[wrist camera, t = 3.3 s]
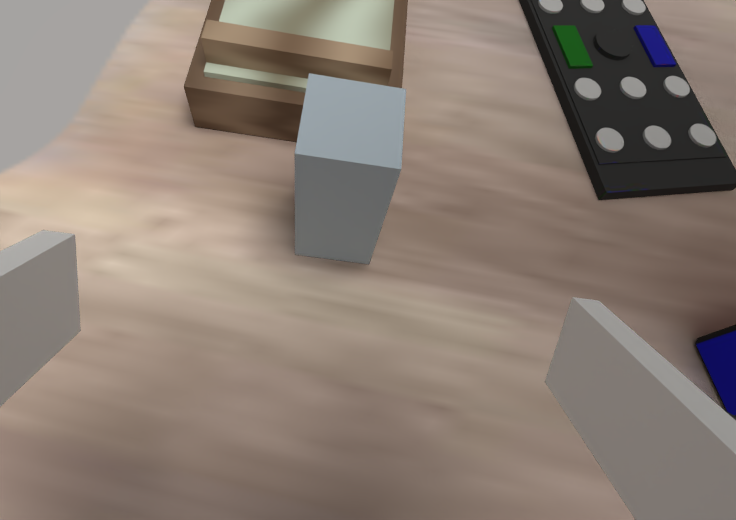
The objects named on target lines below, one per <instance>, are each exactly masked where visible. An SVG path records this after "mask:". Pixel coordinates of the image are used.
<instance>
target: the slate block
mask: <svg viewBox="0 0 736 520" xmlns="http://www.w3.org/2000/svg"><path fill="white" fill-rule="evenodd" d="M405 99H406V89H402V88H396V87H390V86H384V85H378V84H372V83H366V82H359V81H353V80H347V79H341V78H335V77H329V76H323V75H317V74H310V73H309V76H308V81H307V87H306V93H305V98H304V104H303V110H302V115H301V121H300V127H299V132H298V138H297V143H296V149H295V255H302V256H309V257H317V258H325V259H332V260H340V261H348V262H356V263H363V264H369V263H370V260H371V257H372V254H373V251H374V248H375V245H376V242H377V239H378V236H379V233H380V230H381V227H382V224H383V221H384V218H385V215H386V213H387V210H388V207H389V204H390V201H391V198H392V195H393V192H394V189H395V186H396V183H397V180H398V177H399V174H400V171H401V163H402V147H403V131H404V115H405Z"/></svg>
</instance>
